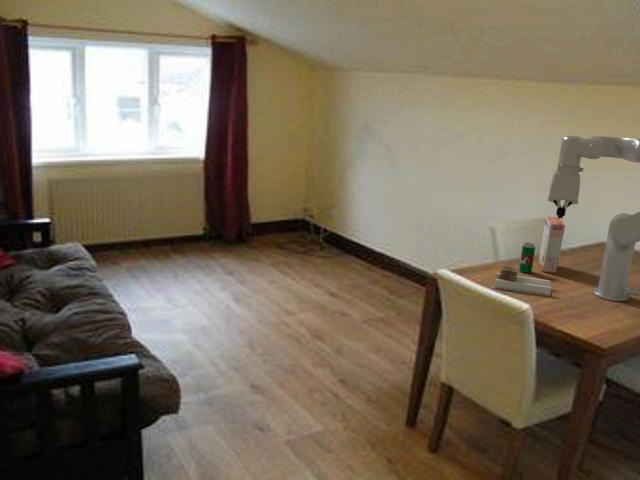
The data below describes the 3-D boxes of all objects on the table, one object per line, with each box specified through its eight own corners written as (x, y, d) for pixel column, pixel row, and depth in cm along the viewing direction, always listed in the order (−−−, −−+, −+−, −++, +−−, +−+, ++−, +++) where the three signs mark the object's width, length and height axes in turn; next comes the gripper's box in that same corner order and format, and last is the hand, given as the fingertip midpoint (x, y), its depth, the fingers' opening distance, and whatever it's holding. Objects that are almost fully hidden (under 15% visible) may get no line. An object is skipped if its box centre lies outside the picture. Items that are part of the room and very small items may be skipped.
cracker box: (557, 273, 255) (565, 225, 250) (542, 272, 256) (550, 223, 251) (552, 263, 269) (560, 217, 263) (537, 262, 270) (545, 215, 264)
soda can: (534, 273, 255) (538, 245, 251) (524, 274, 253) (528, 246, 249) (526, 269, 259) (530, 241, 256) (516, 270, 257) (520, 242, 254)
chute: (549, 288, 237) (550, 280, 236) (549, 296, 229) (551, 288, 228) (495, 280, 243) (496, 272, 242) (494, 287, 235) (495, 279, 234)
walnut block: (515, 282, 239) (517, 267, 237) (515, 287, 234) (517, 272, 232) (499, 280, 241) (501, 265, 239) (498, 284, 236) (501, 269, 234)
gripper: (588, 170, 230) (580, 218, 235) (546, 166, 234) (539, 213, 239) (590, 173, 223) (581, 222, 228) (547, 169, 228) (539, 217, 233)
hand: (560, 217), depth 234 cm, fingers closed
